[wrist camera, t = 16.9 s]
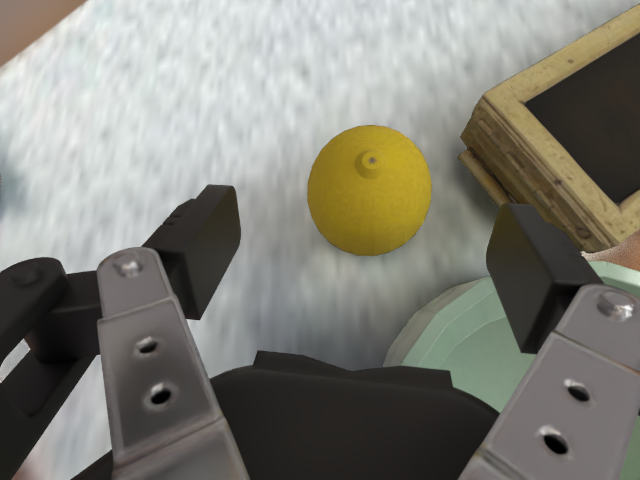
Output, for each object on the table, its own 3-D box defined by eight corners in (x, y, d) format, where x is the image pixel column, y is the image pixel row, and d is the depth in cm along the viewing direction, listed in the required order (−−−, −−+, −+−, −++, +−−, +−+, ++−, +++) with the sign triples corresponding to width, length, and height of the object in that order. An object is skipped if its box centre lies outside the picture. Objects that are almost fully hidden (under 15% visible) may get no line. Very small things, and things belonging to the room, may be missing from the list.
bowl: (319, 379, 20) (304, 406, 14) (535, 224, 20) (609, 187, 14) (500, 661, 17) (580, 848, 11) (748, 469, 17) (952, 548, 11)
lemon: (316, 266, 21) (293, 237, 13) (316, 172, 22) (295, 92, 14) (418, 265, 20) (457, 234, 13) (413, 169, 21) (446, 84, 14)
